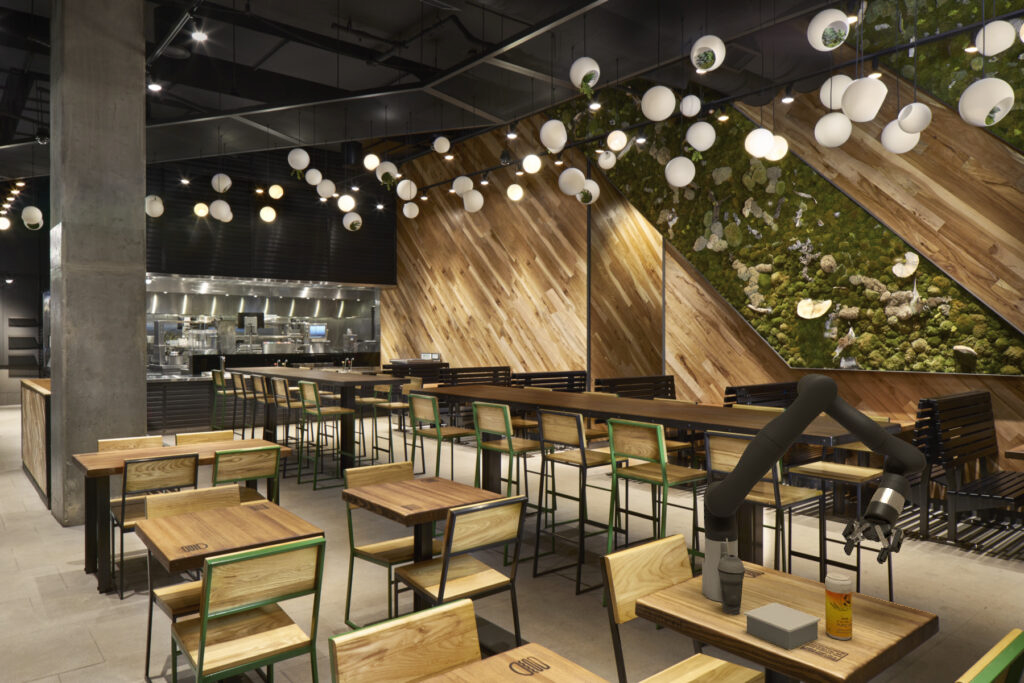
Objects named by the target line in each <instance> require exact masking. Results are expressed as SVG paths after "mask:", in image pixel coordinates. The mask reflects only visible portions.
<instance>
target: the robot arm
mask: <svg viewBox="0 0 1024 683" xmlns="http://www.w3.org/2000/svg"><path fill="white" fill-rule="evenodd" d="M796 389H797V394H798V396H797V397H796V398H795V399H794V401H793V402H792V404H791V405H789V407H788V408H787V409H785V410H784V411H782V413H780V414H778V415H777V416H776V417H774V418H773V419H771V420H770V421H769V422H767V423H765V425H764V426H763V427H762V428H761V429H760V430H759V431H758V432H757V433H756V435H754V436H753V438H752V439H751V440H750V442H748V444H747V446H746V448H745V449H744V451H743V452H742V454H741V456H740V458H739V460H738V461H737V463H736V465H735V467H734V468H733V469H732V471H731V472H730V473H729V474H728V475H727V476H725V478H723V480H722V481H712V482H711V483H709V484H708V485H707V486H706V488H705V490H704V492H703V526H704V560H703V561H702V563H701V576H702V578H701V579H702V580H701V585H702V588H701V590H702V591H701V592H702V593H701V594H702V595H704V596H705V597H706V598H707V599H709V600H711V601H715V602H720V603H722V598H721V587H720V577H719V573H718V569H717V568H718V564H719V561H720V559H721V558H722V557H724V556H726V555H728V552H727V543H726V538H728V545H729V554H730V555H734V556H737V557H738V556H739V555H738V552H739V551H738V549H739V548H738V547H739V546H738V540H739V539H738V538H739V537H738V525H737V516H736V514H737V513H736V512H737V511H738V509H739V508H740V507H741V505H742V504H743V502H744V501H745V499H747V497H748V495H749V493H750V492H751V491H752V490H753V488H754V487H755V486H756V485H757V484H758V483H759V482H760V481H761V480H762V479H763V478H764V477H765V476H766V475H767V474H768V473H769V472H770V471H771V469H773V468H774V467H775V465H776V464H777V463H779V461H780V460H781V459H782V458H783V456H785V454H786V453H788V451H789V450H790V449H791V447H792V446H793V445H794V444H795V442H796V441H797V440H798V439H799V437H800V436H802V434H803V433H804V431H805V430H806V429H807V428H808V427H809V425H811V423H812V422H814V420H815V419H817V418H818V417H819V416H820V415H821V414H822V413H824V414H825V415H827V416H829V417H830V418H831V419H833V420H834V421H835V422H836V423H838V424H839V425H840V426H842V427H843V428H844V429H845V430H846V431H848V433H850V434H851V436H853V437H855V439H857V441H859V442H860V443H861V444H863V446H865V447H866V448H867V449H869V450H870V451H871V452H872V453H874V454H876V455H878V456H887V457H886V458H885V460H884V463H883V466H882V467H883V469H882V479H881V481H880V483H879V485H878V487H877V489H876V491H875V493H874V494H873V496H872V498H871V499H870V502H869V504H868V506H867V508H866V511H865V513H864V516H863V519H862V520H861V521H856V520H855V519H854V518H853V517H852V518H850V519H849V520H848V522H847V524H846V525H845V528H844V529H843V531H842V533H841V535H842V537H843V539H844V540H845V541H846V542H845V544H844V547H843V551H844V553H845V555H846V556H847V557H848V556H849V557H851V555H852V553H853V551H854V548H855V546H856V544H857V543H859V542H864V541H866V540H867V541H870V542H873V541H874V542H875V543H881V545H882V547H881V548H880V550H879V552H878V554H877V555H876V556H877V557H876V562H877V563H878V564H879V565H883V564H884V563H886V562H887V560H888V558H889V555H890V554H891V553H895V554H898V553H900V552H901V551H900V550H901V548H902V546H903V542H904V539H905V533H904V531H903V530H902V529H901V528H899V527H897V528H896V525H897V523H898V520H899V518H900V515H901V514H902V511H903V508H904V504H905V502H906V499H907V497H908V495H909V492H910V490H911V484H910V481H909V480H908V479H907V478H906V477H907V476H911V475H914V474H918V473H921V472H923V471H924V470H925V469H926V467H927V459H926V456H925V454H923V452H922V451H921V450H920V449H918V448H917V447H916V446H914V445H913V444H911V443H909V442H908V441H907V442H906V441H905V440H903V439H901V438H899V437H897V436H894V435H892V433H890V432H889V431H888V430H887V429H885V428H884V427H883V426H882V425H880V424H879V423H878V422H877V421H875V420H874V419H872V418H871V417H870V416H868V415H866V414H865V413H863V412H862V411H860V410H859V409H857V408H855V407H854V406H853V405H852V404H850V403H849V402H847V400H845V399H844V398H843V397H841V396H840V395H839V387H838V384H837V382H836V380H835V379H834V378H832V377H831V376H828V375H826V374H825V375H824V374H819V373H809V374H806V375H804V376H802V377H801V378H800V379H799V380H798V383H797V386H796ZM895 528H896V529H895ZM891 536H893V539H892V541H891V544H889V540H888V538H890V537H891ZM738 558H739V557H738Z"/></svg>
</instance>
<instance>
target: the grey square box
mask: <svg viewBox="0 0 1024 683" xmlns="http://www.w3.org/2000/svg"><path fill="white" fill-rule="evenodd" d="M743 615H744V616H746V633H748V634H749V635H751V636H755V637H756V638H759V639H762V640H763V641H766V642H768V643H771V644H772V645H775V644H776V646H778V647H780V646H781V647H780V648H783V649H785V648H786V649H785V650H787V649H791V650H793V649H796V648H798V647H800V645H801V646H803V645H806V644H808V643H810V642H813V641H815V640H818V639H819V631H818V630H819V626H818V625H819V624H818V622H820V621H821V620H822V619H821V618H820V617H818V616H815V615H812V614H809V613H805V612H803V611H800V610H797V609H795V608H793V607H790V606H786V605H784V604H781V603H777V602H771V603H768V604H765V605H762V606H761V607H756V608H753V609H751V610H748V611H745V612H743ZM812 640H813V641H812ZM805 643H806V644H805ZM802 644H803V645H802ZM795 647H796V648H795ZM792 648H793V649H792Z"/></svg>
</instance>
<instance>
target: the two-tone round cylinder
mask: <svg viewBox="0 0 1024 683" xmlns="http://www.w3.org/2000/svg"><path fill="white" fill-rule="evenodd" d="M824 582H825V583H824V596H825V597H824V599H825V600H824V601H825V602H824V605H825V608H824V610H825V611H824V612H825V614H824V615H825V620H824V621H825V632H826V633H827V635H828V637H830V638H833V639H834V640H835V639H836V640H839V641H846V640H850V639H851V638H852V636H853V582H852V580H851V577H850V576H849V575H848V574H845V573H838V572H828V573H826V577H825V578H824Z"/></svg>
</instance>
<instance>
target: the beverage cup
mask: <svg viewBox="0 0 1024 683" xmlns="http://www.w3.org/2000/svg"><path fill="white" fill-rule="evenodd" d="M726 543H727V552H728V555H726V556H724V557H722V558H721V559H720V561H719V564H718V568H717V569H718V573H719V577H720V587H721V598H722V602H721V606H722V612H723V613H724V614H726V613H727V614H726V615H729V614H731V615H730V616H738V615H740V614H741V606H742V596H743V586H744V584H743V583H744V579H745V578H744V577H745V573H746V571H745V565H744V563H743V560H741V559H740V558H739V557H737V556H734V555H730V554H729V545H728V538H726ZM737 614H738V615H737Z"/></svg>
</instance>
